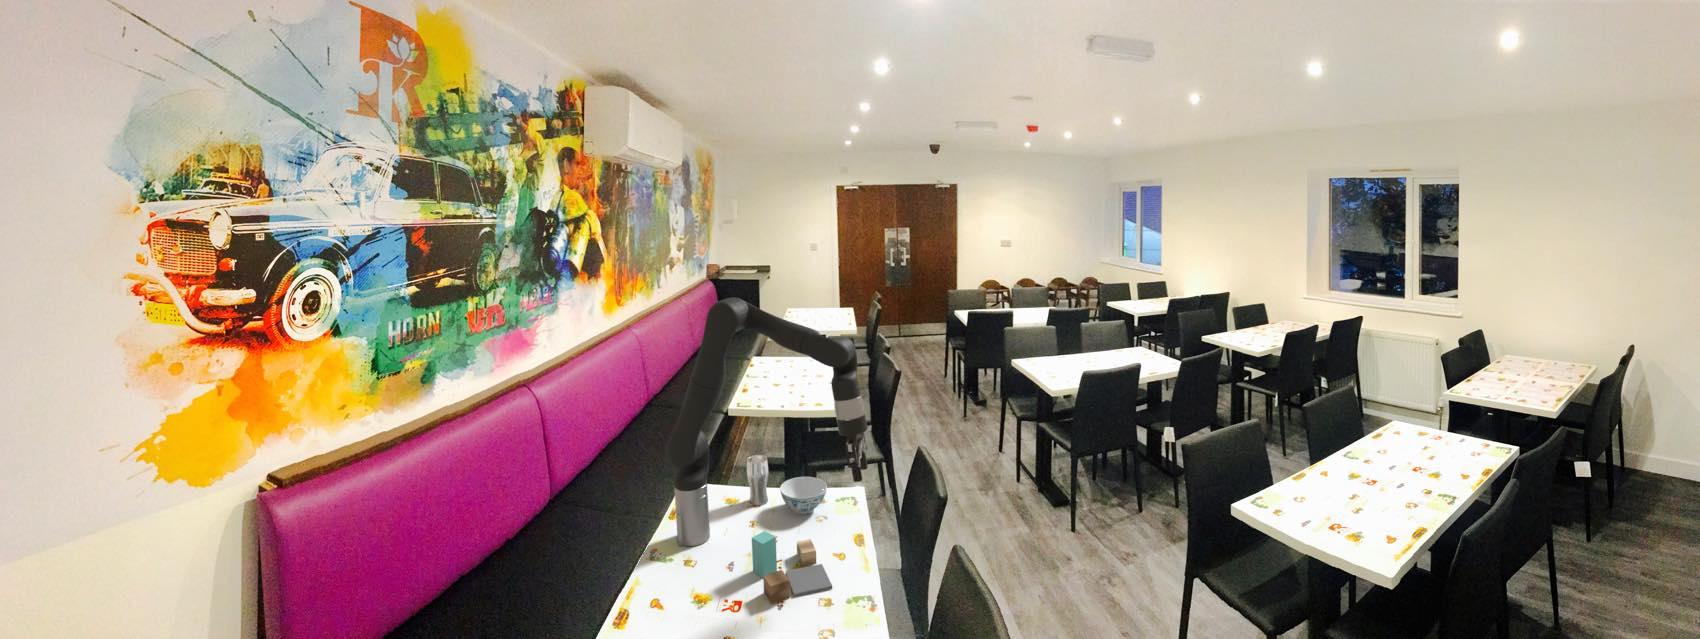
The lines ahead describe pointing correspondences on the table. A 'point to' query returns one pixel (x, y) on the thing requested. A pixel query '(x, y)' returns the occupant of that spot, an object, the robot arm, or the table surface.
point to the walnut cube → (776, 586)
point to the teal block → (764, 554)
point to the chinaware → (803, 493)
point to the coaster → (808, 580)
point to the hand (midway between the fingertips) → (861, 475)
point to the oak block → (806, 552)
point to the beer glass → (757, 479)
